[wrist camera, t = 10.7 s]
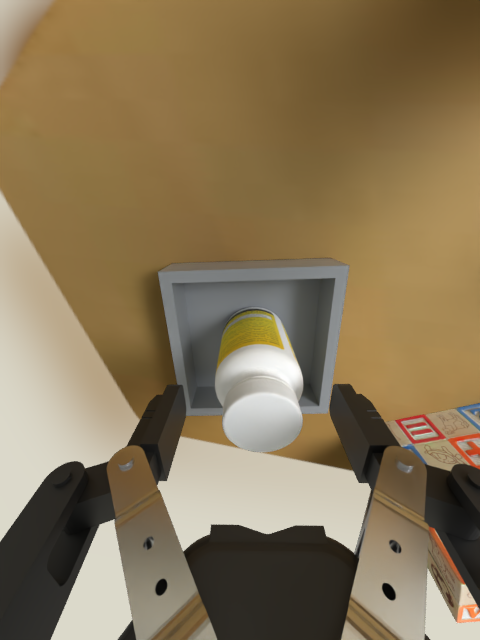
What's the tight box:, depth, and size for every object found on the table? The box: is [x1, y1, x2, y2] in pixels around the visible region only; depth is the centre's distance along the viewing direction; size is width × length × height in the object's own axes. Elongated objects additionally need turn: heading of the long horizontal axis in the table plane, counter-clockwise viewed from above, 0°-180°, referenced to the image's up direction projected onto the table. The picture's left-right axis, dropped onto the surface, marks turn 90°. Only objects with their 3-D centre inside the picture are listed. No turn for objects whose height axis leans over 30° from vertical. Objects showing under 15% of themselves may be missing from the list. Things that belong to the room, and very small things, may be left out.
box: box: [158, 258, 349, 416], centre depth 19 cm, size 13×13×4 cm
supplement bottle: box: [215, 307, 303, 452], centre depth 16 cm, size 5×5×10 cm
